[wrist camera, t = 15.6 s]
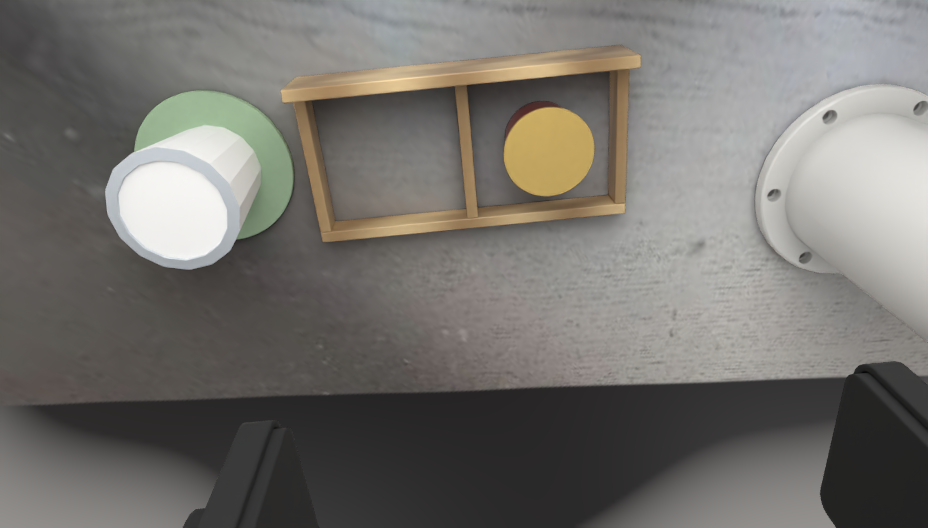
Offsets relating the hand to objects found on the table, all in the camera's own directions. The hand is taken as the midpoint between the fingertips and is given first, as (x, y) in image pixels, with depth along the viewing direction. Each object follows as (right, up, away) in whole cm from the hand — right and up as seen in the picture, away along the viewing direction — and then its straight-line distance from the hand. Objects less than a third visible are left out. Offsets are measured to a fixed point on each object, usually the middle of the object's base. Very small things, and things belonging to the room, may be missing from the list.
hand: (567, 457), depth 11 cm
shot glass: (-17, +9, +28) cm, 34 cm away
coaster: (-17, +9, +29) cm, 35 cm away
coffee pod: (+3, +11, +28) cm, 31 cm away
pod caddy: (-2, +11, +28) cm, 30 cm away
